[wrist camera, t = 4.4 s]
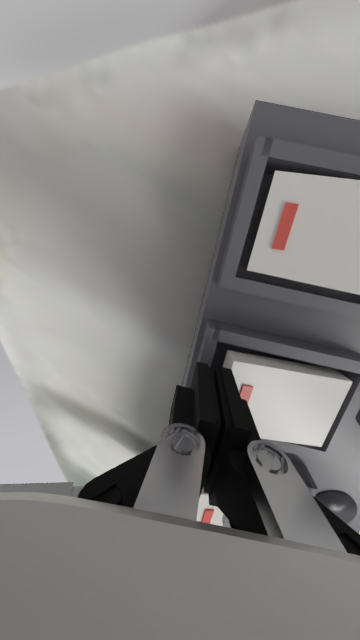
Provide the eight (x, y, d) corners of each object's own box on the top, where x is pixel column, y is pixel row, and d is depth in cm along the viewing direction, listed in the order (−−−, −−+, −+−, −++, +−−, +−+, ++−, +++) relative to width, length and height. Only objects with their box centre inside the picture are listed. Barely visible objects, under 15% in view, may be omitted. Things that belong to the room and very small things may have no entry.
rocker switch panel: (474, 192, 13) (663, 146, 8) (312, 507, 20) (352, 597, 15) (240, 145, 14) (266, 70, 8) (161, 470, 21) (147, 544, 15)
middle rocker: (335, 369, 12) (354, 382, 11) (308, 429, 13) (322, 448, 12) (227, 350, 11) (234, 362, 10) (208, 415, 12) (212, 433, 11)
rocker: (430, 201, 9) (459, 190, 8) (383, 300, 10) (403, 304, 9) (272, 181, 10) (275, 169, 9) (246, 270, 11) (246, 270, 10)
